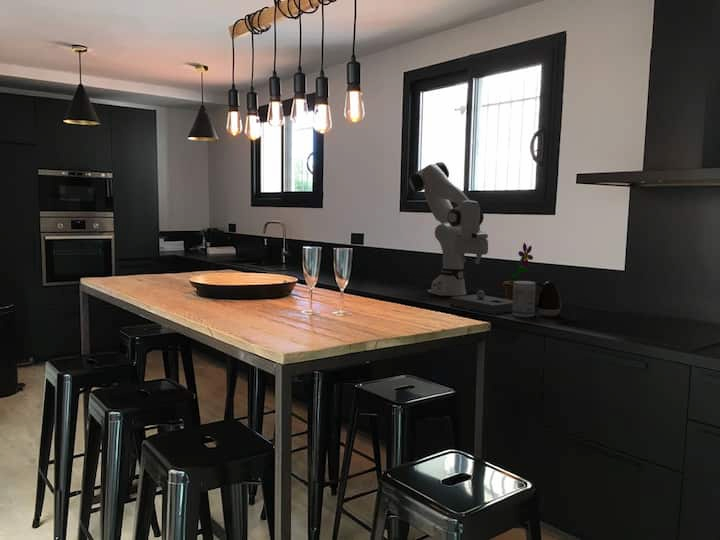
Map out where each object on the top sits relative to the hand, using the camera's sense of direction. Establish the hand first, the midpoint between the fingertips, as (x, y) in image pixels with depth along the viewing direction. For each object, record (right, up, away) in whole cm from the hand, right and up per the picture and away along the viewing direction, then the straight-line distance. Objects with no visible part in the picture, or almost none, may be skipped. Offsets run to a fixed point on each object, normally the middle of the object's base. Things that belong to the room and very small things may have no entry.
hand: (470, 263), depth 282 cm
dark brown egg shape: (+29, -23, -26) cm, 46 cm away
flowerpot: (+24, -20, +6) cm, 32 cm away
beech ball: (+4, -15, -5) cm, 16 cm away
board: (+6, -21, -7) cm, 23 cm away
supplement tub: (+18, -23, -26) cm, 39 cm away
